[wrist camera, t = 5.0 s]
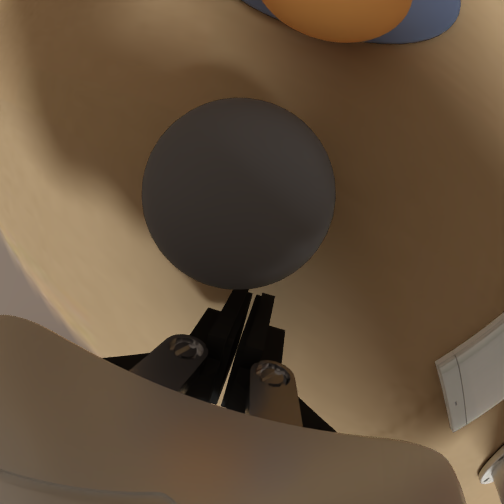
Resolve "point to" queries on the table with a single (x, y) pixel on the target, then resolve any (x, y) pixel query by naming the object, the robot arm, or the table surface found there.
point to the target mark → (407, 20)
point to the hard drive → (473, 375)
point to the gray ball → (238, 193)
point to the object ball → (340, 17)
